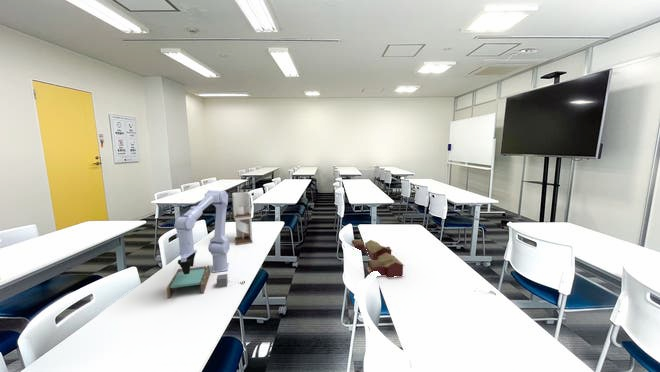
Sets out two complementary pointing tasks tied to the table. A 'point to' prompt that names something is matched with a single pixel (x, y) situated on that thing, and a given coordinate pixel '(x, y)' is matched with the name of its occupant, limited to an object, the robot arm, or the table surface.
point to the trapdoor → (189, 277)
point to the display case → (242, 217)
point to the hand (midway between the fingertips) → (188, 270)
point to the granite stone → (222, 280)
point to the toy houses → (380, 258)
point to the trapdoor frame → (203, 282)
